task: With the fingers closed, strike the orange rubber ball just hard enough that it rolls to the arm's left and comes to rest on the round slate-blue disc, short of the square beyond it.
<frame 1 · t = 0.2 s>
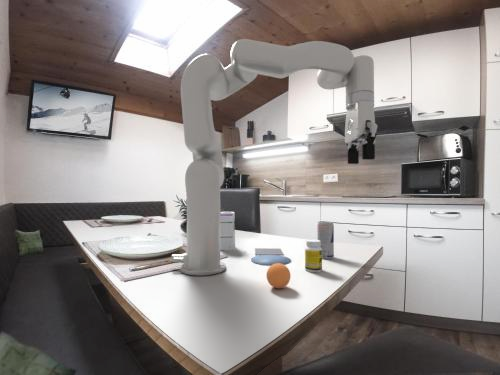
hand: (360, 161, 74), 31 cm above the table, tool pointing down, fingers open, 9 cm apart
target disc: (270, 260, 85), on the table
supplement bottle: (313, 270, 74), on the table
ball: (278, 275, 60), on the table
syrup box: (227, 249, 102), on the table
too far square: (268, 251, 97), on the table
energy drink: (325, 258, 89), on the table
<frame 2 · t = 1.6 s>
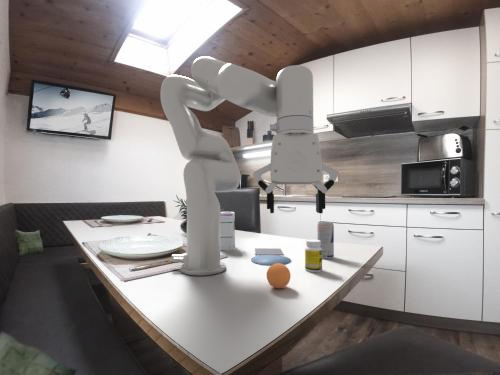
hand: (295, 212, 53), 18 cm above the table, tool pointing down, fingers open, 9 cm apart
nothing on the table moved.
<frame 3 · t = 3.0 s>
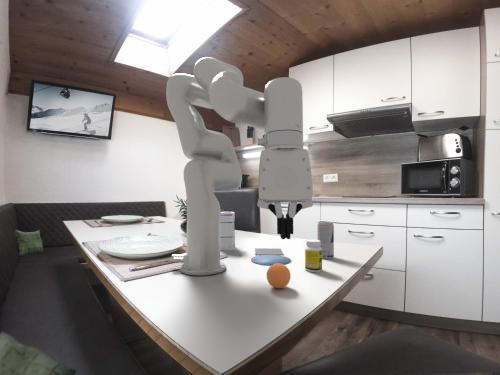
hand: (285, 237, 50), 13 cm above the table, tool pointing down, fingers closed
nothing on the table moved.
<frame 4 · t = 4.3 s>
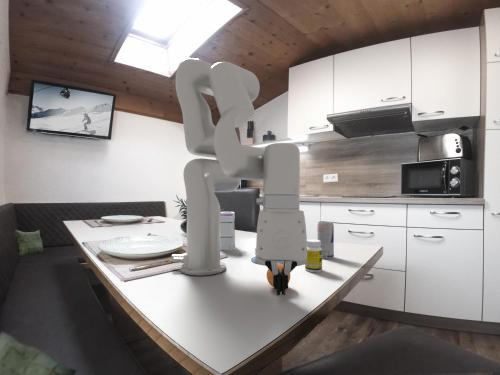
hand: (280, 292, 54), 1 cm above the table, tool pointing down, fingers closed
nothing on the table moved.
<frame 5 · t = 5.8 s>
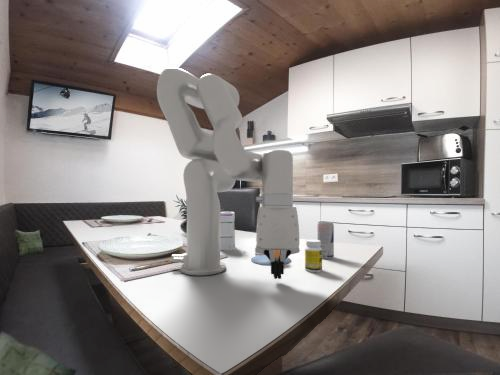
hand: (277, 276, 63), 1 cm above the table, tool pointing down, fingers closed
ball: (276, 254, 81), on the table
everything else where it was.
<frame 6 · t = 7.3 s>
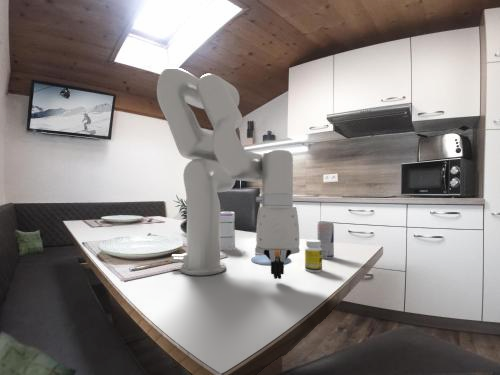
hand: (277, 276, 63), 1 cm above the table, tool pointing down, fingers closed
ball: (275, 249, 88), on the table
everything else where it was.
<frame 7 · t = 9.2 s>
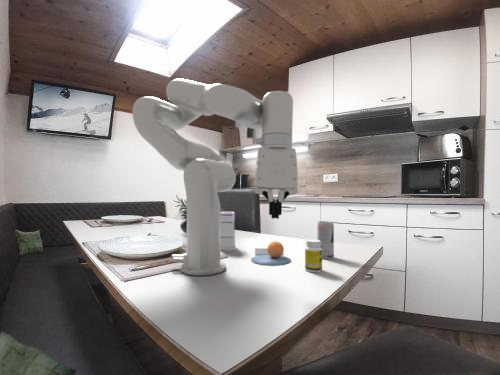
hand: (275, 217, 64), 16 cm above the table, tool pointing down, fingers closed
nothing on the table moved.
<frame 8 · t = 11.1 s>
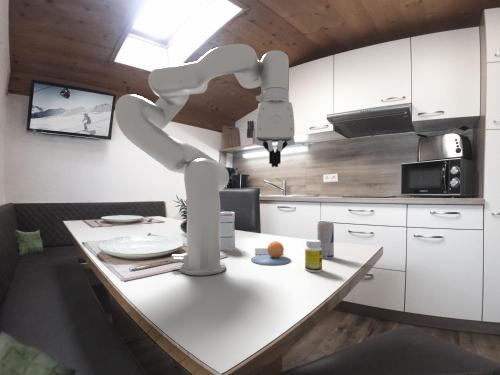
hand: (274, 166, 71), 29 cm above the table, tool pointing down, fingers closed
nothing on the table moved.
at the end: ball 3.6 cm from the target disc (horizontally); ball at rest at the end (0.0 cm/s); ball moved 28.2 cm from its start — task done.
